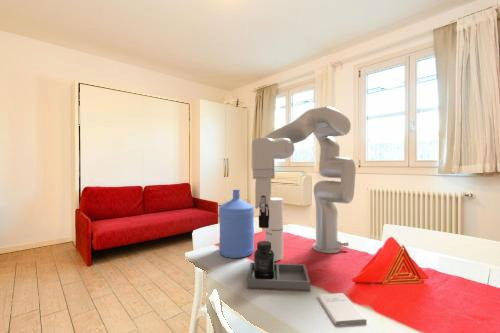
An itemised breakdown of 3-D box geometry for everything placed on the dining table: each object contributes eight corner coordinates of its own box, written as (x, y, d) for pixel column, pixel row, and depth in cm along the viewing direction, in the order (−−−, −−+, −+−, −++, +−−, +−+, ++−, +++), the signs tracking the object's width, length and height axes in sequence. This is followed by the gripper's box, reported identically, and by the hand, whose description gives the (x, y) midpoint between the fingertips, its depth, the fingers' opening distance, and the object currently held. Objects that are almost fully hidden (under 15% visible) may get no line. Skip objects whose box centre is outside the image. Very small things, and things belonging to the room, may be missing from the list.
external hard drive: (335, 327, 62) (317, 299, 74) (366, 325, 62) (343, 297, 75) (335, 321, 62) (317, 294, 74) (366, 319, 62) (343, 292, 75)
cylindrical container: (282, 261, 100) (282, 200, 99) (265, 260, 101) (264, 200, 101) (283, 254, 107) (283, 197, 106) (267, 253, 108) (267, 197, 108)
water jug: (261, 253, 109) (260, 190, 108) (230, 262, 100) (229, 193, 99) (242, 243, 122) (241, 187, 121) (213, 250, 113) (212, 189, 112)
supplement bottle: (278, 277, 85) (278, 242, 85) (265, 284, 80) (265, 248, 80) (263, 270, 90) (263, 238, 90) (250, 277, 85) (250, 243, 85)
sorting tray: (304, 272, 90) (304, 264, 90) (310, 291, 77) (310, 282, 77) (250, 270, 92) (250, 262, 92) (247, 288, 79) (247, 279, 79)
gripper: (254, 172, 93) (255, 217, 94) (250, 176, 76) (251, 231, 77) (274, 172, 92) (275, 217, 93) (274, 176, 75) (275, 231, 76)
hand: (264, 223), depth 85 cm, fingers open, 9 cm apart
